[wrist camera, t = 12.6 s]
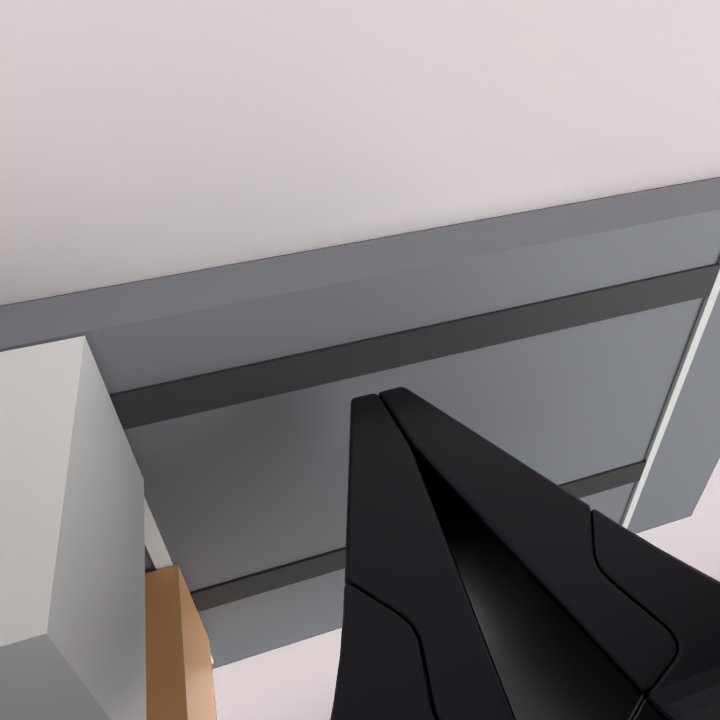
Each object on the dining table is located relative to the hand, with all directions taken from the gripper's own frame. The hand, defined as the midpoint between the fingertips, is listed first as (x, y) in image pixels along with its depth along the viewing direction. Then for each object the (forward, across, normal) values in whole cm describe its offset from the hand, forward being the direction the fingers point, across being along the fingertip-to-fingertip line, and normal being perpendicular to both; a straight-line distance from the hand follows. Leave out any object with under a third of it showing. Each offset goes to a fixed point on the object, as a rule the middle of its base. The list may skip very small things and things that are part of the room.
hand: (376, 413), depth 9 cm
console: (+2, 0, +3) cm, 4 cm away
